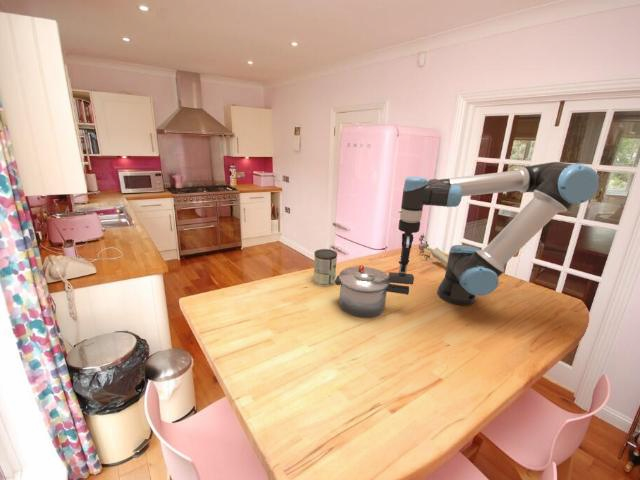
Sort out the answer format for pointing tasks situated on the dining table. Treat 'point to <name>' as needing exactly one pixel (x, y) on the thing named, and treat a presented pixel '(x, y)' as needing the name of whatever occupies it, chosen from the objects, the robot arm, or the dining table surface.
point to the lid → (371, 279)
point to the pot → (366, 300)
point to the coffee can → (325, 267)
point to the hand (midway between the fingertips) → (401, 278)
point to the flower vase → (435, 252)
